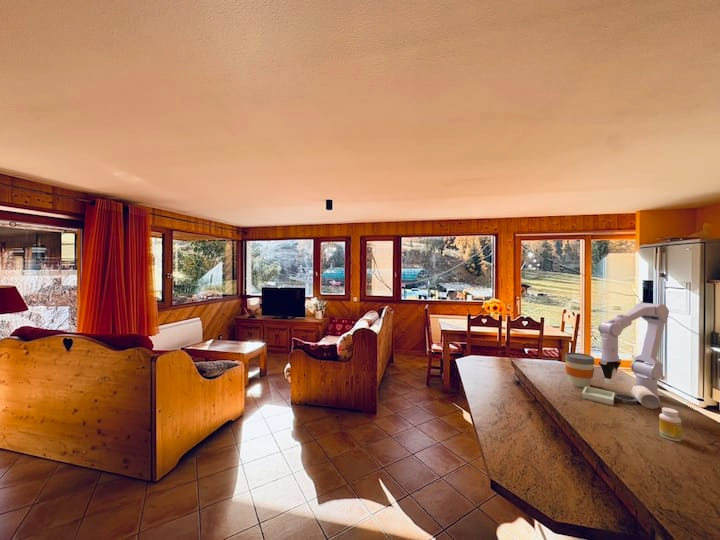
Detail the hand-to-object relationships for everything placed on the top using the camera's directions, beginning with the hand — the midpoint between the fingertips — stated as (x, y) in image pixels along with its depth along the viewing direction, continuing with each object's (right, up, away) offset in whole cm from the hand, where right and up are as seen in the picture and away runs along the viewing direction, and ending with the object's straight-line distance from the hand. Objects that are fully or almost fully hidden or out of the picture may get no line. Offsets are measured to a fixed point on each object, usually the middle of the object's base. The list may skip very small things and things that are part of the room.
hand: (609, 377), depth 134 cm
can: (+9, -7, -10) cm, 15 cm away
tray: (-4, -10, +1) cm, 11 cm away
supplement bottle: (-5, -10, -30) cm, 33 cm away
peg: (0, -3, 0) cm, 3 cm away
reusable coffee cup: (-1, -10, +18) cm, 20 cm away
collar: (+6, -10, -1) cm, 12 cm away
